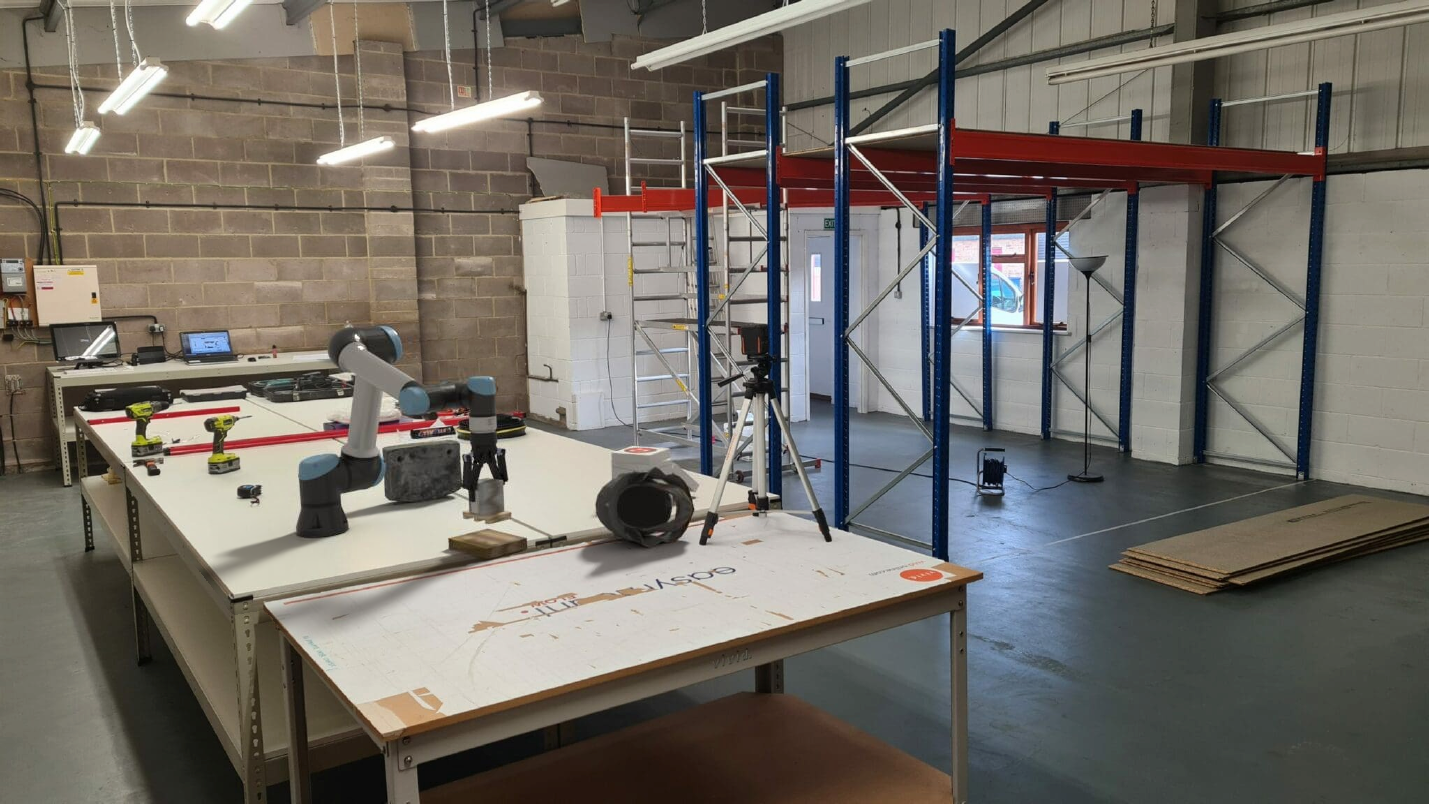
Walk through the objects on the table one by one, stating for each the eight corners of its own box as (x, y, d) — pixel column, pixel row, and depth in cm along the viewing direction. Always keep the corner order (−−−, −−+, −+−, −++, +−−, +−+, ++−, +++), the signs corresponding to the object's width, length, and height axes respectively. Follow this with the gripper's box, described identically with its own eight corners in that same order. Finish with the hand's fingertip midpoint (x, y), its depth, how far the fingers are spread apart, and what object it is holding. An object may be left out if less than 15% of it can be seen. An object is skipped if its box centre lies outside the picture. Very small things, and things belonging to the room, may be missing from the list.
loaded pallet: (489, 524, 274) (487, 486, 273) (462, 518, 282) (461, 480, 281) (511, 519, 281) (510, 481, 279) (485, 513, 288) (483, 476, 287)
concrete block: (455, 492, 358) (452, 438, 355) (464, 497, 350) (461, 441, 348) (381, 502, 342) (378, 446, 340) (388, 507, 335) (385, 449, 333)
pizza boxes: (703, 496, 348) (702, 446, 346) (639, 510, 327) (638, 457, 324) (667, 488, 361) (666, 440, 359) (603, 502, 340) (601, 450, 338)
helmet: (708, 470, 289) (665, 470, 310) (614, 462, 272) (574, 463, 293) (704, 550, 287) (660, 545, 307) (608, 547, 269) (569, 542, 290)
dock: (487, 559, 271) (487, 548, 271) (448, 548, 283) (448, 538, 282) (527, 548, 282) (527, 537, 282) (488, 538, 293) (487, 528, 293)
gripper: (462, 436, 268) (465, 518, 271) (519, 427, 284) (522, 505, 286) (445, 434, 273) (449, 514, 276) (503, 425, 288) (506, 501, 291)
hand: (486, 509), depth 281 cm, fingers closed on loaded pallet, 7 cm apart
